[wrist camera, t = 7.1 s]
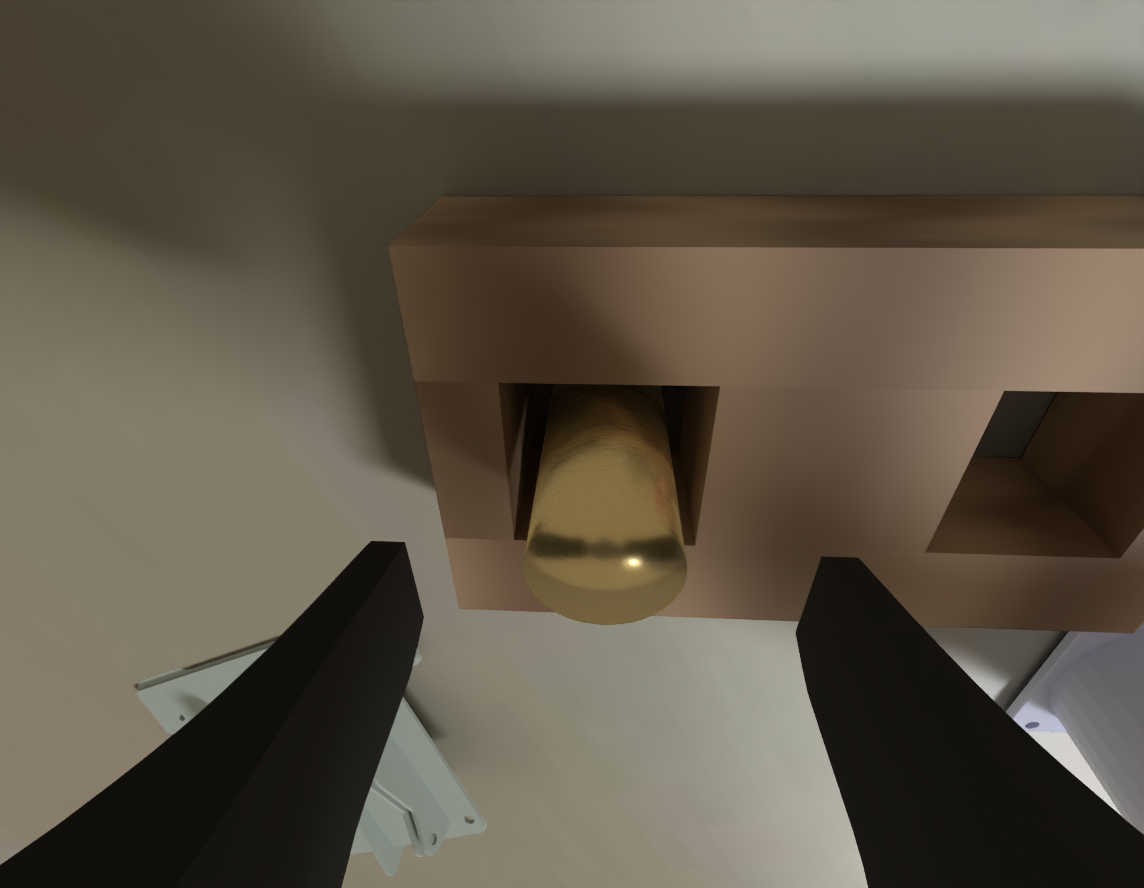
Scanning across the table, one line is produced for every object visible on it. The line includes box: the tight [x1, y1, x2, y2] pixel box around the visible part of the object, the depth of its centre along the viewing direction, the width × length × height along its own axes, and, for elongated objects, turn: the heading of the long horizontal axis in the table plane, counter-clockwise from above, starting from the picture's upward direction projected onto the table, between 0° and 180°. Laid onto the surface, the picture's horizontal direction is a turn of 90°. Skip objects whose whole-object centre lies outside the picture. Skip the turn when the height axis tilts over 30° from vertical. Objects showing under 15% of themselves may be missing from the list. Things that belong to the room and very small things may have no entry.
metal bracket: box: [137, 640, 487, 876], centre depth 27 cm, size 14×6×15 cm
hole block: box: [388, 195, 1144, 634], centre depth 14 cm, size 18×10×4 cm, turn 91°
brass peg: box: [523, 384, 687, 625], centre depth 13 cm, size 3×3×7 cm
